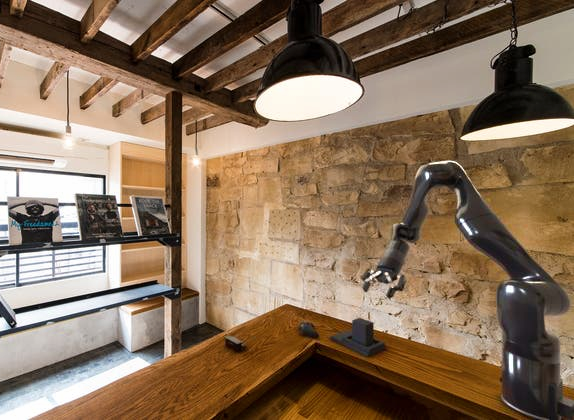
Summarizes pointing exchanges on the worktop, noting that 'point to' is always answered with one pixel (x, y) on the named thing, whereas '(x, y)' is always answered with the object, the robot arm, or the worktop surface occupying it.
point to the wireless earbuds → (234, 343)
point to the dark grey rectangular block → (362, 331)
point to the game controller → (308, 329)
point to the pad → (347, 341)
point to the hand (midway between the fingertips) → (376, 294)
